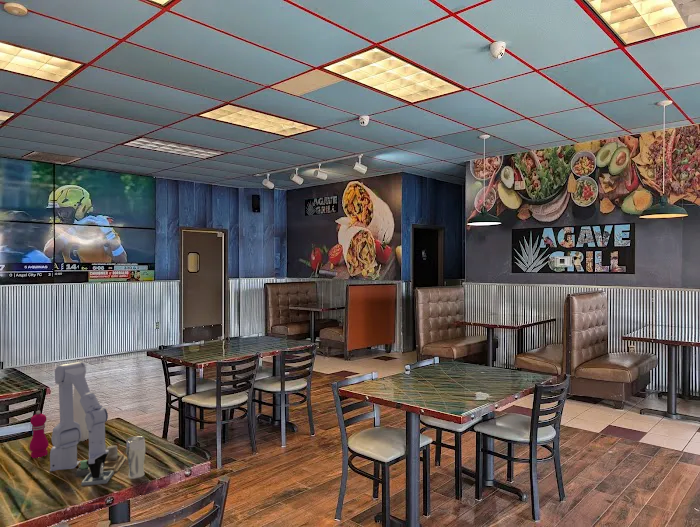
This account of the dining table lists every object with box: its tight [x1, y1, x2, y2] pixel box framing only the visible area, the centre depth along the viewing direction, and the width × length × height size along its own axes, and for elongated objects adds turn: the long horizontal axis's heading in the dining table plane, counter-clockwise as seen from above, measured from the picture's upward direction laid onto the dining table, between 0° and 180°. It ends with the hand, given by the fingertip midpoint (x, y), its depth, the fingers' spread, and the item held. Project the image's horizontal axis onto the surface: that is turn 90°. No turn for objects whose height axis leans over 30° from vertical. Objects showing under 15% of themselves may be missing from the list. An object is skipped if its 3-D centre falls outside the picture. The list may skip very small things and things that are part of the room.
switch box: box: [75, 465, 91, 477], centre depth 201 cm, size 5×5×3 cm
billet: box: [92, 462, 104, 481], centre depth 195 cm, size 4×4×6 cm
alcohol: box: [73, 385, 89, 443], centre depth 241 cm, size 9×9×30 cm
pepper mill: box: [28, 410, 50, 459], centre depth 222 cm, size 7×7×20 cm
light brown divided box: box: [103, 444, 127, 473], centre depth 208 cm, size 9×14×7 cm, turn 10°
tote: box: [80, 470, 115, 487], centre depth 195 cm, size 9×9×2 cm
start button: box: [79, 459, 89, 469], centre depth 201 cm, size 3×3×4 cm
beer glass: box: [125, 435, 146, 480], centre depth 198 cm, size 7×7×15 cm
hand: (97, 475), depth 195 cm, fingers closed on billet, 4 cm apart
